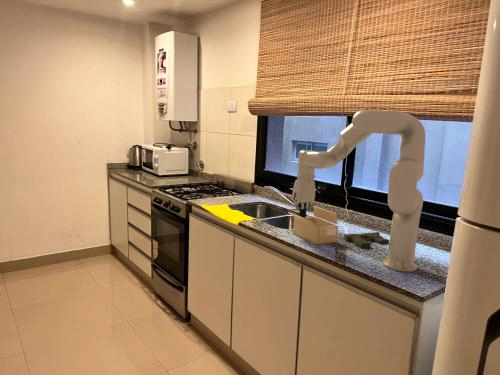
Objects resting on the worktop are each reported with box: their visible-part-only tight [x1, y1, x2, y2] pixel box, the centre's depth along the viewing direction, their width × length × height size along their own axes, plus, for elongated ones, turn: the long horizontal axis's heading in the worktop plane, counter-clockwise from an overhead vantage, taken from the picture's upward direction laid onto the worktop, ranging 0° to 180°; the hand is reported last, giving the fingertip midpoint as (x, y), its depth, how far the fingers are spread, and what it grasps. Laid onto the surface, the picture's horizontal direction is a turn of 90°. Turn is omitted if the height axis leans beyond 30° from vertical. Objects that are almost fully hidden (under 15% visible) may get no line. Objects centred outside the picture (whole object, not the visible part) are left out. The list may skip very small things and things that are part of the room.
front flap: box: [288, 211, 317, 227], centre depth 170 cm, size 16×5×1 cm
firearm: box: [343, 231, 390, 249], centre depth 175 cm, size 3×24×15 cm
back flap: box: [312, 205, 338, 225], centre depth 176 cm, size 16×5×1 cm
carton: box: [292, 215, 339, 246], centre depth 175 cm, size 19×12×8 cm, turn 28°
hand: (302, 217), depth 170 cm, fingers closed
